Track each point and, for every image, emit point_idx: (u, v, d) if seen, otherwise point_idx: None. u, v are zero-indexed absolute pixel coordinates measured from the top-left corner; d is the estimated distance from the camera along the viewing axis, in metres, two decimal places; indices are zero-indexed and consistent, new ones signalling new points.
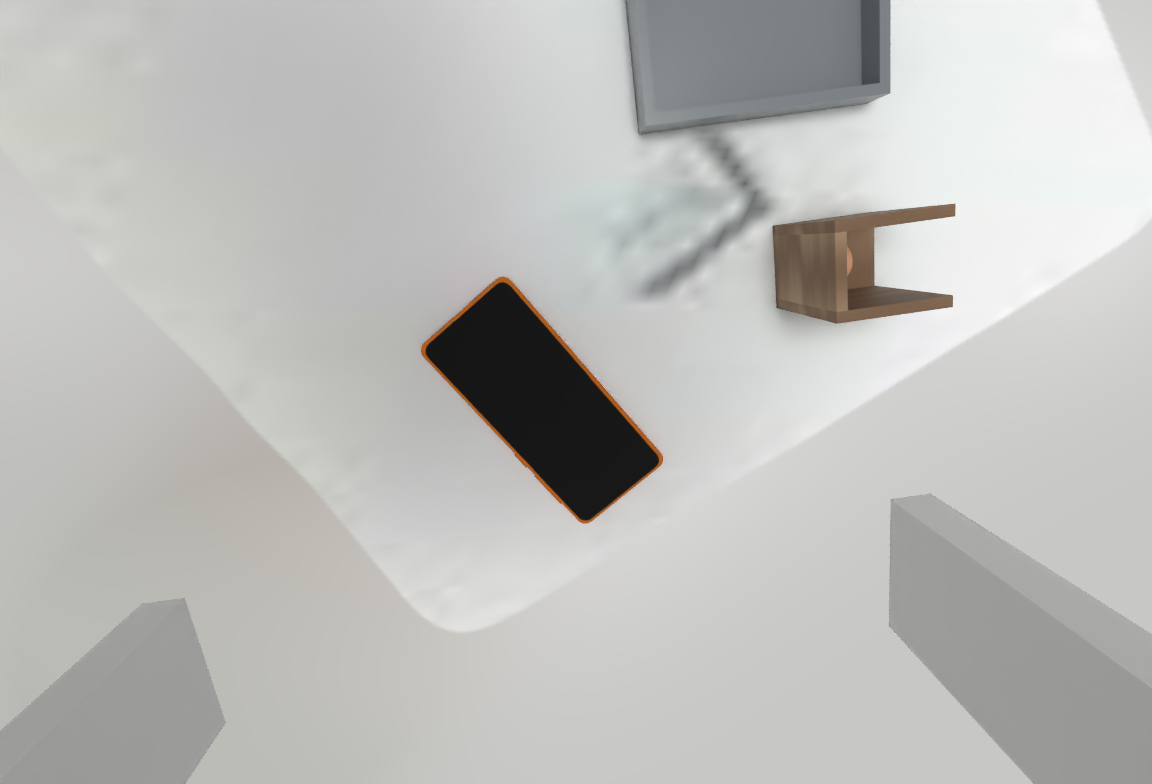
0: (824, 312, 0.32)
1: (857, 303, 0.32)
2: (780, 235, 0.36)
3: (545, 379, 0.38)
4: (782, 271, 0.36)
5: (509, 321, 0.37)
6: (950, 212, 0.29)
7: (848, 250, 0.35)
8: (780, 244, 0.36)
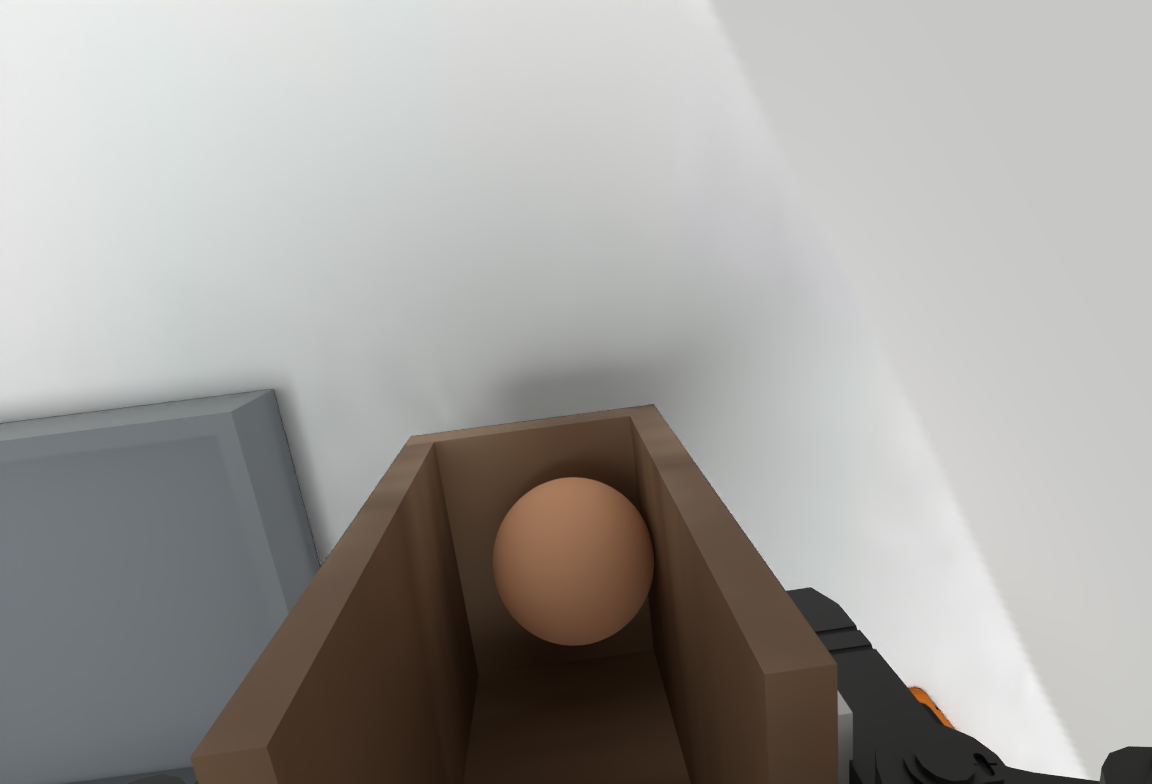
0: None
1: None
2: None
3: None
4: None
5: None
6: (247, 776, 0.05)
7: (525, 496, 0.11)
8: None
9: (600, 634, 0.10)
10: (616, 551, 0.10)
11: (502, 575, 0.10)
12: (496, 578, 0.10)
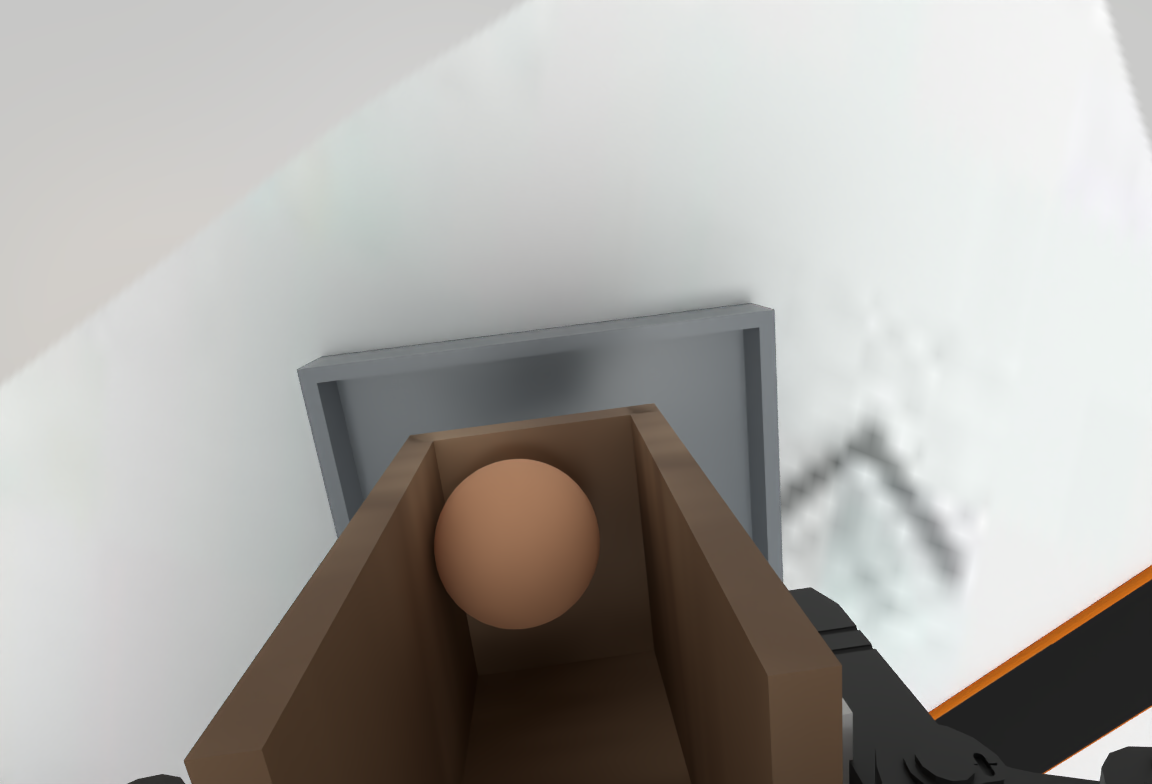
0: None
1: None
2: None
3: (1040, 693, 0.30)
4: None
5: (961, 730, 0.30)
6: (241, 779, 0.05)
7: None
8: None
9: (483, 605, 0.09)
10: (505, 516, 0.09)
11: None
12: None
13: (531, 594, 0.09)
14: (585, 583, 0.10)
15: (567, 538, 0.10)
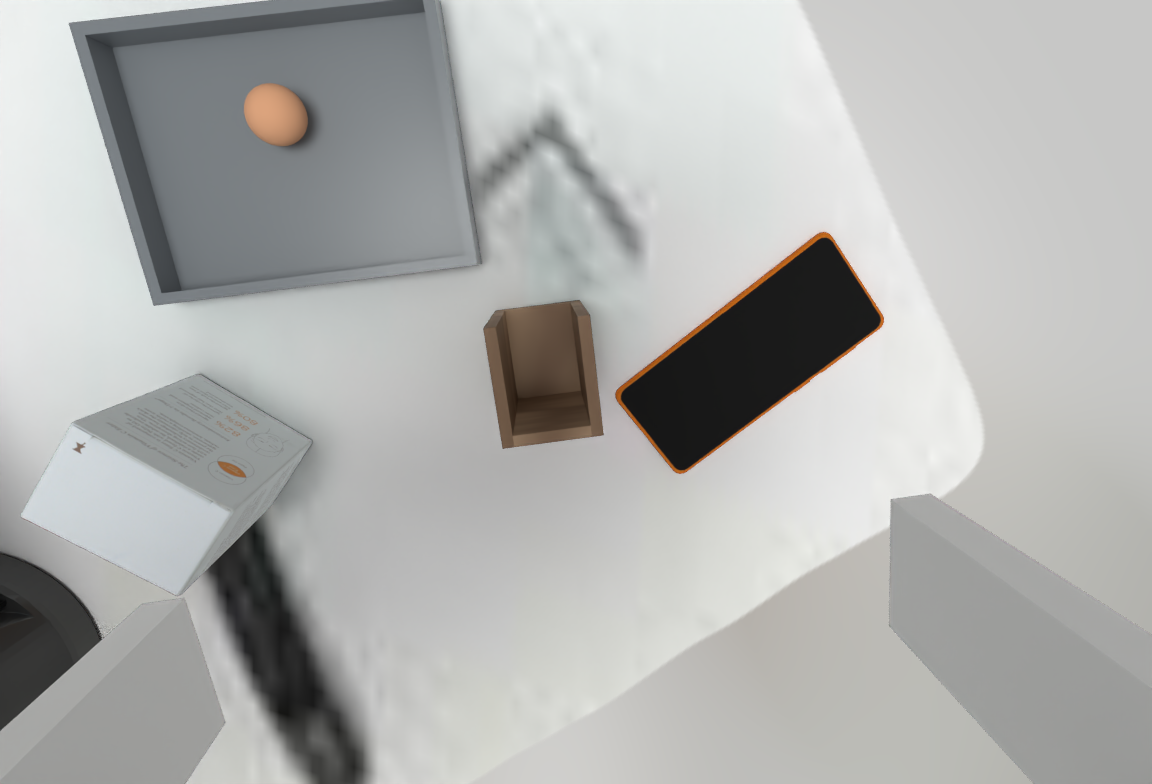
0: None
1: None
2: None
3: (719, 359, 0.37)
4: None
5: (659, 391, 0.38)
6: (492, 332, 0.28)
7: (263, 129, 0.30)
8: None
9: None
10: None
11: (247, 122, 0.30)
12: None
13: None
14: None
15: None
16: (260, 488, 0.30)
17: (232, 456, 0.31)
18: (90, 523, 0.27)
